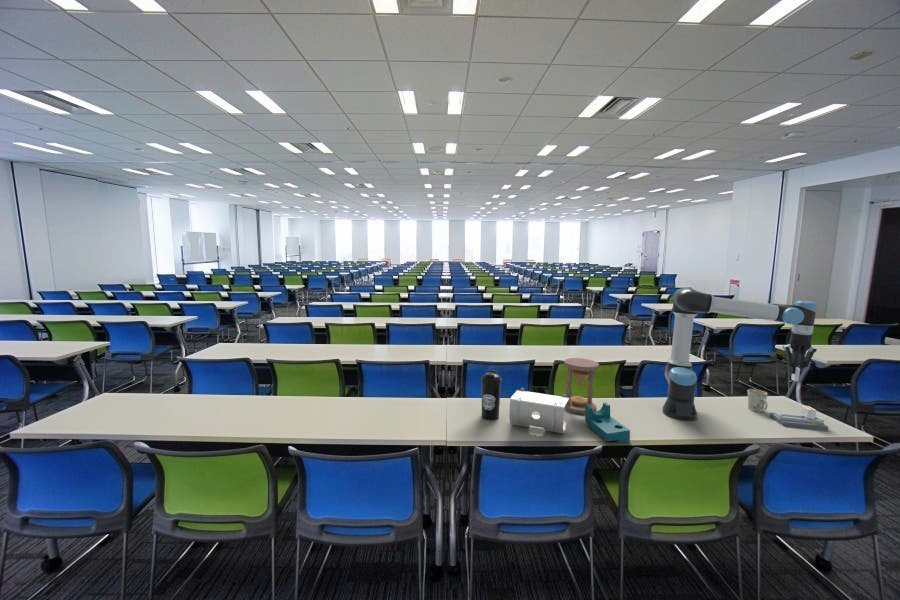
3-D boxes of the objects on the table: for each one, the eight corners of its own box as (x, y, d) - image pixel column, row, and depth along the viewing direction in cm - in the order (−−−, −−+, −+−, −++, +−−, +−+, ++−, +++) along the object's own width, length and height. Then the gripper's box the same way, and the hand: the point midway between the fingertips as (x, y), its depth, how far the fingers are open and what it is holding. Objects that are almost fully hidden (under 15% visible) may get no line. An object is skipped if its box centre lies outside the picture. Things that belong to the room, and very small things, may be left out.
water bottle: (477, 419, 183) (478, 373, 180) (483, 411, 192) (484, 368, 190) (497, 422, 179) (499, 376, 177) (502, 414, 189) (504, 370, 186)
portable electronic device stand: (506, 431, 170) (507, 399, 169) (516, 412, 192) (517, 383, 190) (564, 442, 161) (566, 408, 159) (568, 420, 183) (570, 390, 181)
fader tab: (806, 421, 182) (808, 408, 181) (800, 417, 186) (801, 405, 186) (814, 422, 181) (816, 409, 180) (807, 417, 185) (809, 405, 185)
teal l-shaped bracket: (585, 426, 179) (585, 405, 177) (606, 422, 181) (605, 402, 179) (607, 444, 161) (607, 421, 160) (629, 441, 163) (629, 418, 162)
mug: (758, 407, 205) (760, 389, 204) (775, 416, 192) (777, 398, 191) (741, 406, 206) (743, 388, 204) (758, 415, 193) (760, 397, 192)
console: (782, 425, 182) (783, 417, 181) (769, 416, 192) (770, 409, 192) (827, 430, 177) (828, 422, 177) (811, 420, 188) (812, 413, 187)
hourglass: (587, 401, 208) (590, 357, 206) (602, 414, 191) (605, 367, 188) (556, 401, 207) (559, 357, 205) (568, 414, 190) (571, 367, 187)
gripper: (790, 333, 178) (783, 381, 181) (823, 336, 175) (816, 384, 178) (781, 330, 185) (774, 376, 188) (812, 332, 182) (805, 379, 185)
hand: (794, 380), depth 183 cm, fingers closed
